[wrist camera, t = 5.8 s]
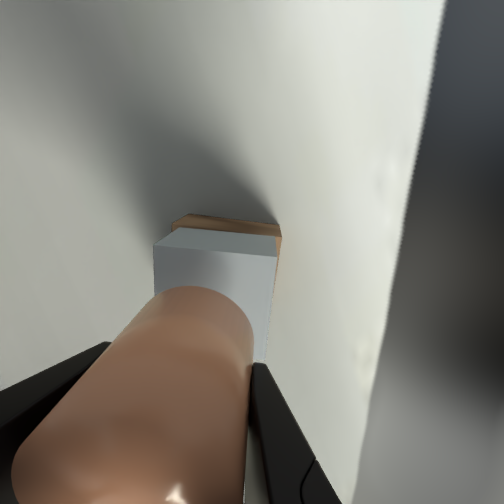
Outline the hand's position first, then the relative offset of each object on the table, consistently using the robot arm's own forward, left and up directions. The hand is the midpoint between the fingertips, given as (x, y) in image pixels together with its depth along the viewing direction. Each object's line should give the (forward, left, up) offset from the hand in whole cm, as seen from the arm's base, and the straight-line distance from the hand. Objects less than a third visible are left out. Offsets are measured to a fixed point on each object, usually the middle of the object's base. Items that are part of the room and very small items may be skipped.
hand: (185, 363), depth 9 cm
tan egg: (0, 0, -1) cm, 1 cm away
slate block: (0, 0, -7) cm, 7 cm away
